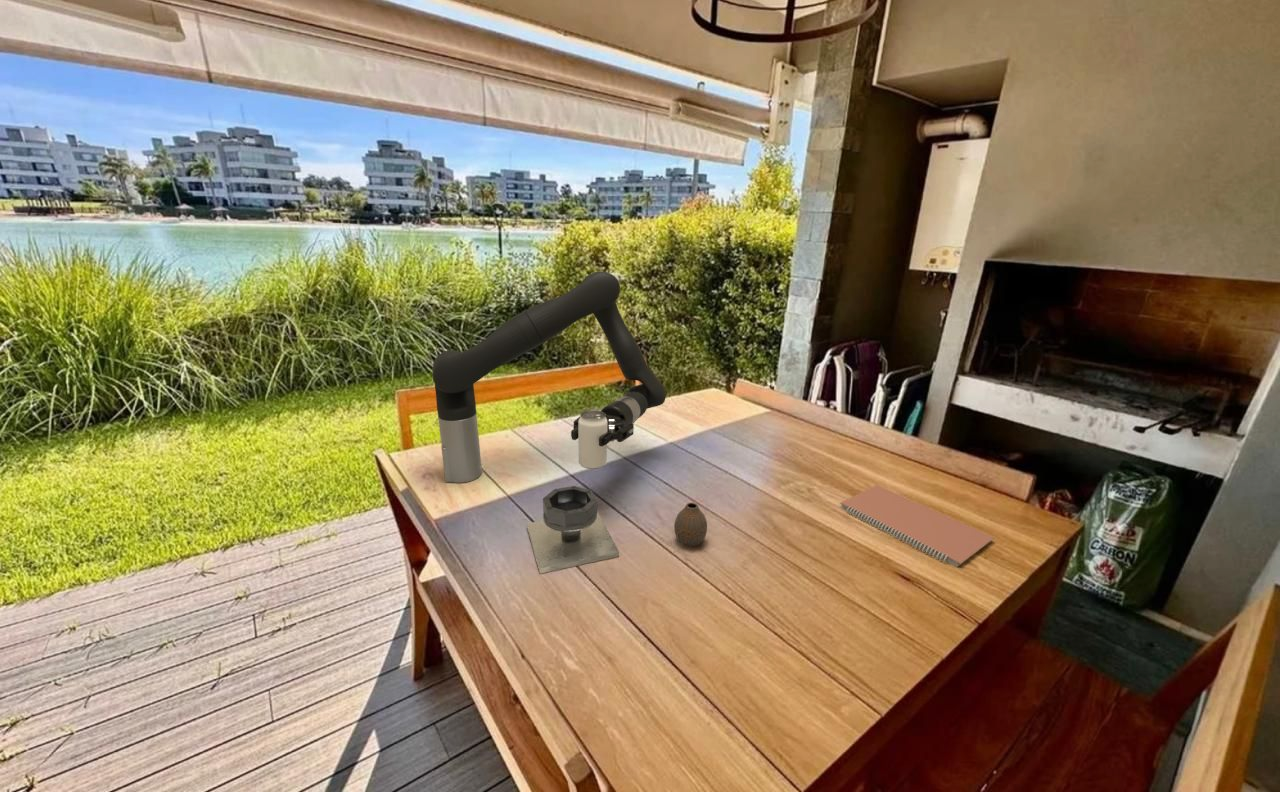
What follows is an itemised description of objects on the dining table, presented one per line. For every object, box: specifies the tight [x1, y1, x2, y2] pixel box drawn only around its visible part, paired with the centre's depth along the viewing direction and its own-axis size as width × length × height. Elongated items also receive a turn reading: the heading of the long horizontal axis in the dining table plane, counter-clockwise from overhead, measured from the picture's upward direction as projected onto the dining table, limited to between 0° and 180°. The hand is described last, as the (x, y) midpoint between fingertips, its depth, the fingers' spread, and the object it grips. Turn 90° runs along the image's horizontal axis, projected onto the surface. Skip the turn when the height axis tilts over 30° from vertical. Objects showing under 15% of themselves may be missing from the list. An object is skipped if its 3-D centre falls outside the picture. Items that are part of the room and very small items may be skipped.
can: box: [577, 409, 608, 470], centre depth 112 cm, size 6×6×12 cm
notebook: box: [840, 484, 995, 568], centre depth 114 cm, size 27×17×2 cm, turn 35°
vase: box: [673, 502, 708, 547], centre depth 105 cm, size 7×7×9 cm
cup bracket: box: [526, 485, 620, 575], centre depth 104 cm, size 16×16×10 cm
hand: (586, 439), depth 110 cm, fingers closed on can, 6 cm apart
